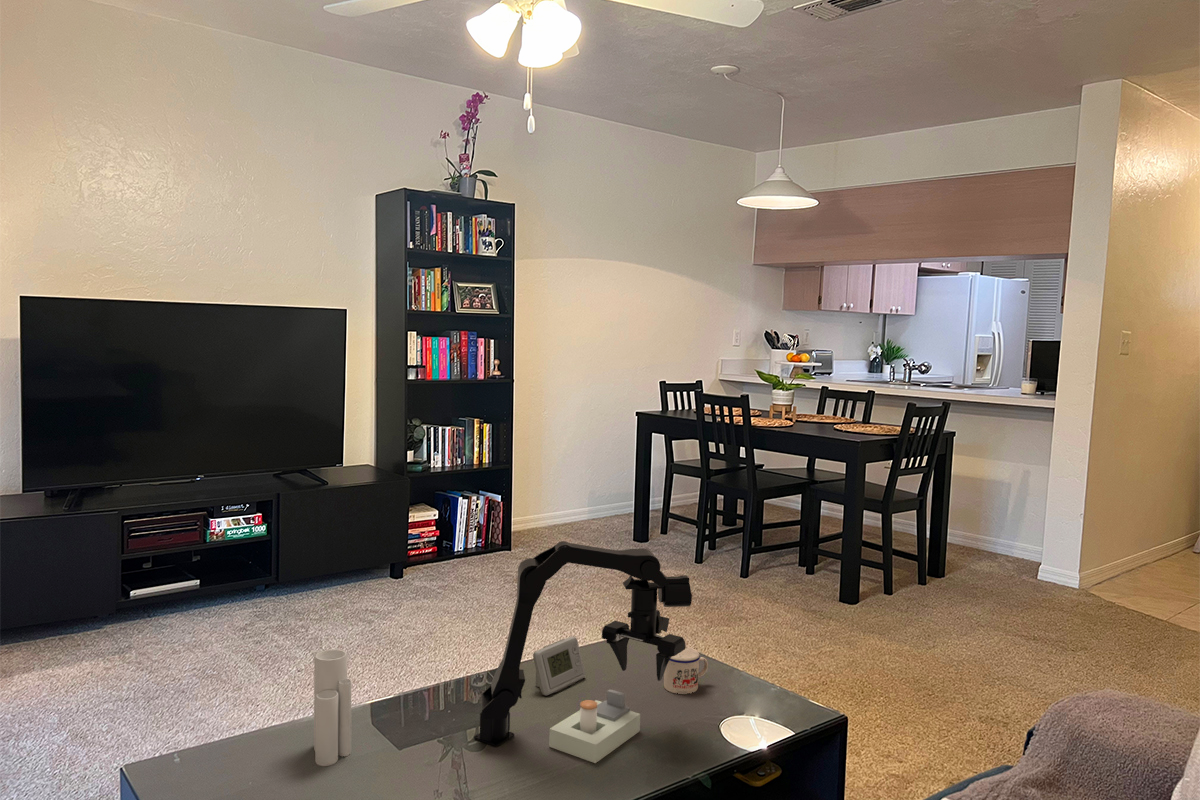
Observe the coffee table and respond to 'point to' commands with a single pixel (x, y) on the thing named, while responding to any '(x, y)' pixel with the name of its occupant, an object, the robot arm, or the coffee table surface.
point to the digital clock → (558, 665)
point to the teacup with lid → (684, 671)
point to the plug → (588, 716)
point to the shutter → (613, 706)
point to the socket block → (593, 735)
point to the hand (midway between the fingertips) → (641, 675)
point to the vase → (331, 707)
